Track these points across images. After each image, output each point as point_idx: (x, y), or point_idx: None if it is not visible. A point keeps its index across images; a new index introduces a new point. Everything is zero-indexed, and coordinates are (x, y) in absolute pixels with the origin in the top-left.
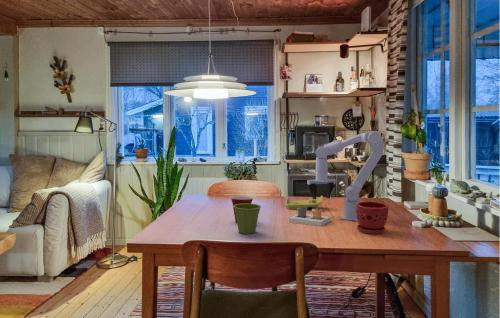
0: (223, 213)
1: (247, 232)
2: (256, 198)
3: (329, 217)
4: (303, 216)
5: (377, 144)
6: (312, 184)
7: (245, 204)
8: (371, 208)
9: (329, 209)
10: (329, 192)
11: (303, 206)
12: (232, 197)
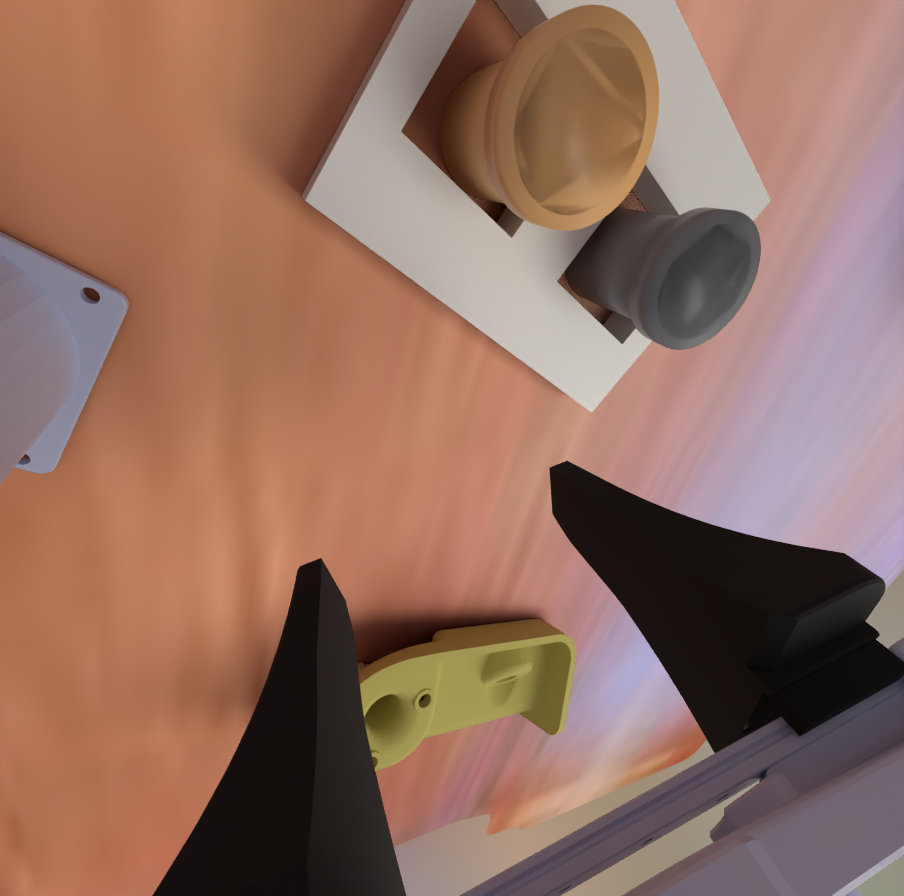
0: (878, 464)
1: None
2: (594, 750)
3: (327, 158)
4: (646, 212)
5: None
6: (850, 668)
7: None
8: None
9: (248, 682)
10: (320, 650)
11: (470, 638)
12: None
